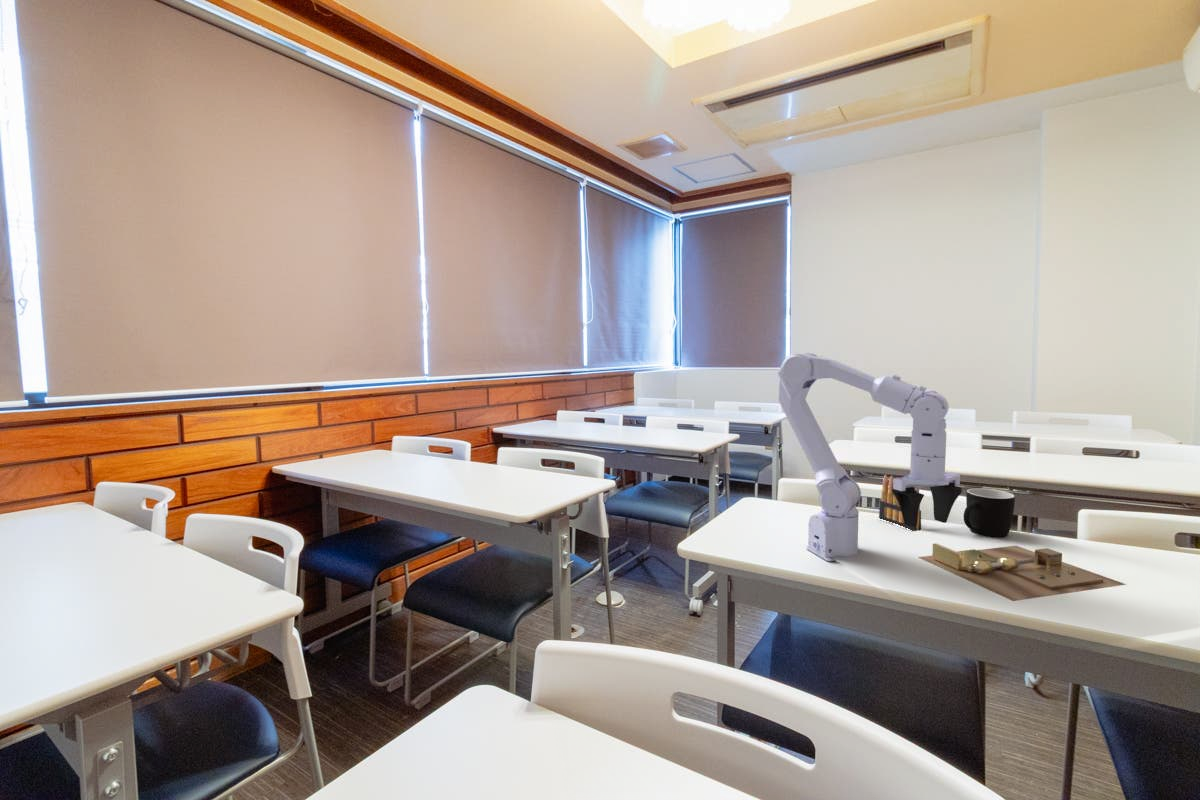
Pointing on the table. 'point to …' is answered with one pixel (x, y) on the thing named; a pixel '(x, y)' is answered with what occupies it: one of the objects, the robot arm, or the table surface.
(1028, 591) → the plank
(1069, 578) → the hinge base
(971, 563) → the leaf
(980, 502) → the mug
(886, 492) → the ammunition clip
